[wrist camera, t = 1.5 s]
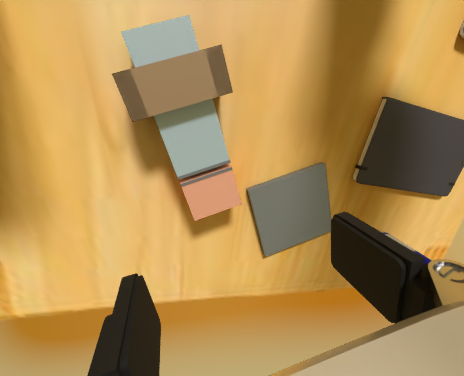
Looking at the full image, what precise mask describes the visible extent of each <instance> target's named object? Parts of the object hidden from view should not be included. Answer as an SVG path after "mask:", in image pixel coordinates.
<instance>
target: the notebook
mask: <svg viewBox="0 0 464 376" xmlns="http://www.w3.org/2000/svg"><path fill="white" fill-rule="evenodd" d="M382 98H383V100H382V102H381V105H380V107H379V110H378V113H377V115H376V118H375V120H374V123H373V126H372V128H371V131H370V134H369V136H368V139H367V141H366V144H365V147H364V149H363V152H362V154H361V157H360V160H359V162H358V165H356V167H355V168H356V170H355V173H354V176H353V179H354V180H355V181H356V182H357V183H360V184H367V185H373V186H380V187H386V188H393V189H399V190H406V191H412V192H419V193H425V194H432V195H438V196H447V195H449V193H450V192H451V190H452V188H453V186H454V184H455V182H456V180H457V178H458V176H459V175H460V173H461V171H462V169H463V167H464V120H462V119H458V118H455V117H452V116H448V115H445V114H442V113H439V112H435V111H432V110H429V109H425V108H422V107H419V106H416V105H412V104H409V103H406V102H402V101H399V100H396V99H393V98H389V97H382Z"/></svg>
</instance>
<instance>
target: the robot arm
mask: <svg viewBox="0 0 464 376" xmlns="http://www.w3.org/2000/svg"><path fill="white" fill-rule="evenodd" d="M331 263H332V265H333V267H334V268H335V269H336V270H337V271H338V272H339V273H340V274H341V275H342V276H343V277H344V278H345V279H346V280H347V281H348V282H349V283H350V284H351V285H352V286H353V287H354V288H355V289H356V290H357V291H358V292H359V293H360V294H362V295H363V296H364V297H365V298H366V299H367V300H368V301H369V302H370V303H371V304H372V305H373V306H374V307H375V308H376V309H377V310H378V311H379V312H380V313H381V314H382V315H383V316H384V317H385V318H386V319H387V320H388V321H390V322H391V323H395V324H393V325H391V326H388V327H386V328H383V329H381V330H379V331H376V332H374V333H371V334H369V335H366V336H364V337H361V338H359V339H356V340H354V341H352V342H349V343H346V344H344V345H342V346H340V347H337V348H334V349H332V350H330V351H327V352H325V353H322V354H320V355H317V356H315V357H312V358H310V359H308V360H305V361H303V362H300V363H298V364H296V365H293V366H291V367H289V368H286V369H284V370H281V371H279V372H277V373H274V374H272V375H269V376H464V264H462V263H459V262H456V261H452V260H447V259H437V260H433V261H431V262H429V264H428V265H427V264H426V263H424V257H422V256H420V255H419V254H417V253H415V252H414V251H412V250H410V249H409V248H407V247H405V246H403V245H402V244H400V243H398V242H397V241H395V240H393V239H392V238H390V237H388V236H386V235H385V234H383V233H381V232H380V231H378V230H376V229H375V228H373V227H371V226H370V225H368V224H366V223H364V222H363V221H361V220H359V219H358V218H356V217H354V216H353V215H351V214H349V213H347V212H342V213H339V214H335V215H334V216H333V218H332V219H331ZM160 337H161V324H160V319H159V316H158V314H157V311H156V309H155V306H154V303H153V301H152V298H151V296H150V293H149V290H148V288H147V285H146V283H145V280H144V278H143V276H142V275H141V276H138V274H133V275H129V276H126V277H123V278H122V280H121V284H120V287H119V291H118V295H117V298H116V302H115V306H114V310H113V313H112V314H111V315H108V316H107V317H106V318H105V320H104V323H103V326H102V329H101V332H100V336H99V339H98V342H97V346H96V349H95V353H94V356H93V359H92V363H91V366H90V369H89V372H88V376H159V363H160Z"/></svg>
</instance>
